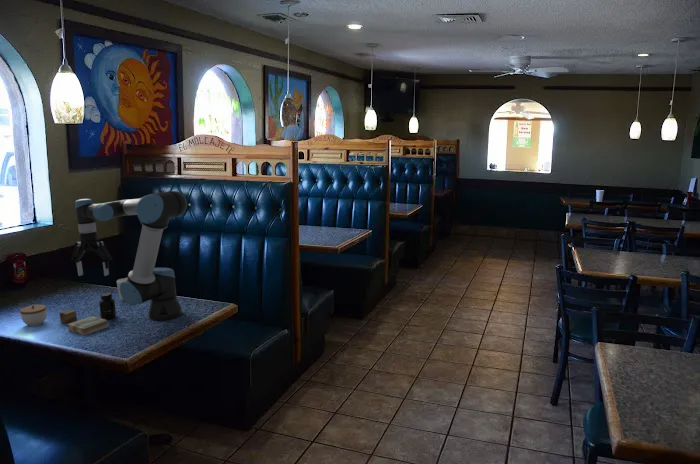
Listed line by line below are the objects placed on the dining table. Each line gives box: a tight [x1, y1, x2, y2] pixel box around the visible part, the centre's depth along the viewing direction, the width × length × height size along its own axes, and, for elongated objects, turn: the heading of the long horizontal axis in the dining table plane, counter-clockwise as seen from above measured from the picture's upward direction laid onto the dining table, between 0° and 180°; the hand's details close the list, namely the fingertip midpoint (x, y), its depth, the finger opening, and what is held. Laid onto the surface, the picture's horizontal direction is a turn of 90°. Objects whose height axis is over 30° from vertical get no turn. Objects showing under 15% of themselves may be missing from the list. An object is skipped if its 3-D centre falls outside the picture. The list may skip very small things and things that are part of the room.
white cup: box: [116, 277, 128, 301], centre depth 295 cm, size 8×8×10 cm
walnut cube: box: [59, 308, 78, 325], centre depth 263 cm, size 5×5×5 cm
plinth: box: [67, 315, 110, 336], centre depth 253 cm, size 12×12×3 cm
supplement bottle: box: [98, 292, 117, 321], centre depth 265 cm, size 7×7×12 cm
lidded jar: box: [19, 304, 48, 327], centre depth 260 cm, size 11×11×9 cm
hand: (93, 275), depth 268 cm, fingers open, 13 cm apart
